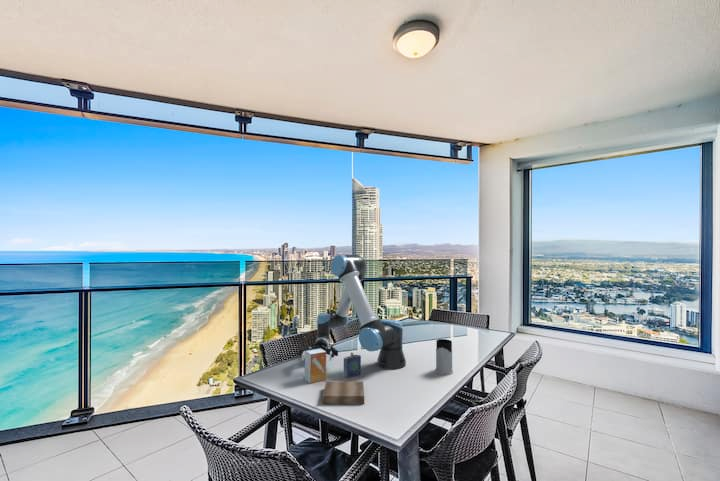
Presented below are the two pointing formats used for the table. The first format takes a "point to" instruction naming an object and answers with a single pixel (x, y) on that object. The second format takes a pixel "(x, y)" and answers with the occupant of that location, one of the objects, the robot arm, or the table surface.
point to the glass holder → (444, 357)
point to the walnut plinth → (343, 393)
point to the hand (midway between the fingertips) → (316, 358)
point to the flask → (352, 366)
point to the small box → (315, 365)
